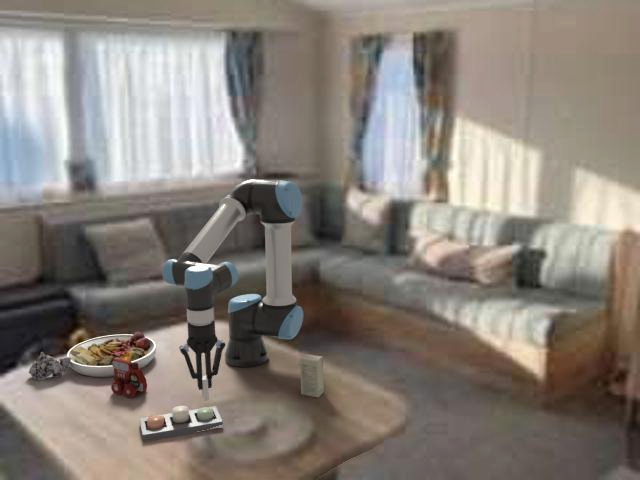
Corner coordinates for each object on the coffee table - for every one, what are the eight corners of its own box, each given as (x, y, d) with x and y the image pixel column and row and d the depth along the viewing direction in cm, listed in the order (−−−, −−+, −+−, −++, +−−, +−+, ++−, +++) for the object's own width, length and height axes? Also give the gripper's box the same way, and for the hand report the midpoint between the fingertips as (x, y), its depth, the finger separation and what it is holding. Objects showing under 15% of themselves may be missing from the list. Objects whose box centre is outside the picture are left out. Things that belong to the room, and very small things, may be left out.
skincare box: (324, 392, 211) (324, 356, 208) (318, 398, 207) (318, 361, 204) (306, 388, 213) (305, 353, 211) (299, 394, 210) (299, 358, 207)
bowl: (108, 388, 215) (106, 365, 213) (49, 368, 231) (47, 347, 229) (174, 357, 240) (173, 336, 238) (117, 341, 255) (116, 321, 254)
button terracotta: (163, 422, 190) (162, 413, 190) (165, 430, 186) (164, 421, 185) (146, 425, 189) (146, 416, 188) (148, 433, 185) (147, 424, 184)
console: (216, 412, 198) (215, 406, 198) (222, 427, 189) (222, 421, 188) (139, 424, 191) (139, 418, 190) (143, 441, 182) (142, 434, 181)
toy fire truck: (137, 400, 206) (135, 369, 204) (107, 392, 211) (105, 362, 209) (152, 391, 212) (150, 361, 210) (123, 384, 217) (120, 354, 215)
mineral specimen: (76, 362, 225) (56, 342, 222) (63, 382, 218) (41, 361, 214) (53, 373, 230) (32, 353, 227) (39, 392, 223) (18, 372, 219)
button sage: (211, 414, 195) (211, 406, 194) (214, 422, 191) (214, 413, 190) (196, 417, 193) (195, 408, 193) (198, 424, 189) (198, 415, 189)
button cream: (187, 413, 192) (187, 404, 192) (190, 420, 188) (189, 411, 187) (171, 416, 191) (171, 407, 190) (173, 423, 186) (173, 414, 186)
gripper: (221, 313, 191) (225, 389, 197) (175, 319, 187) (180, 396, 192) (226, 322, 184) (230, 400, 190) (179, 329, 180) (184, 408, 185)
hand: (205, 398), depth 191 cm, fingers closed
